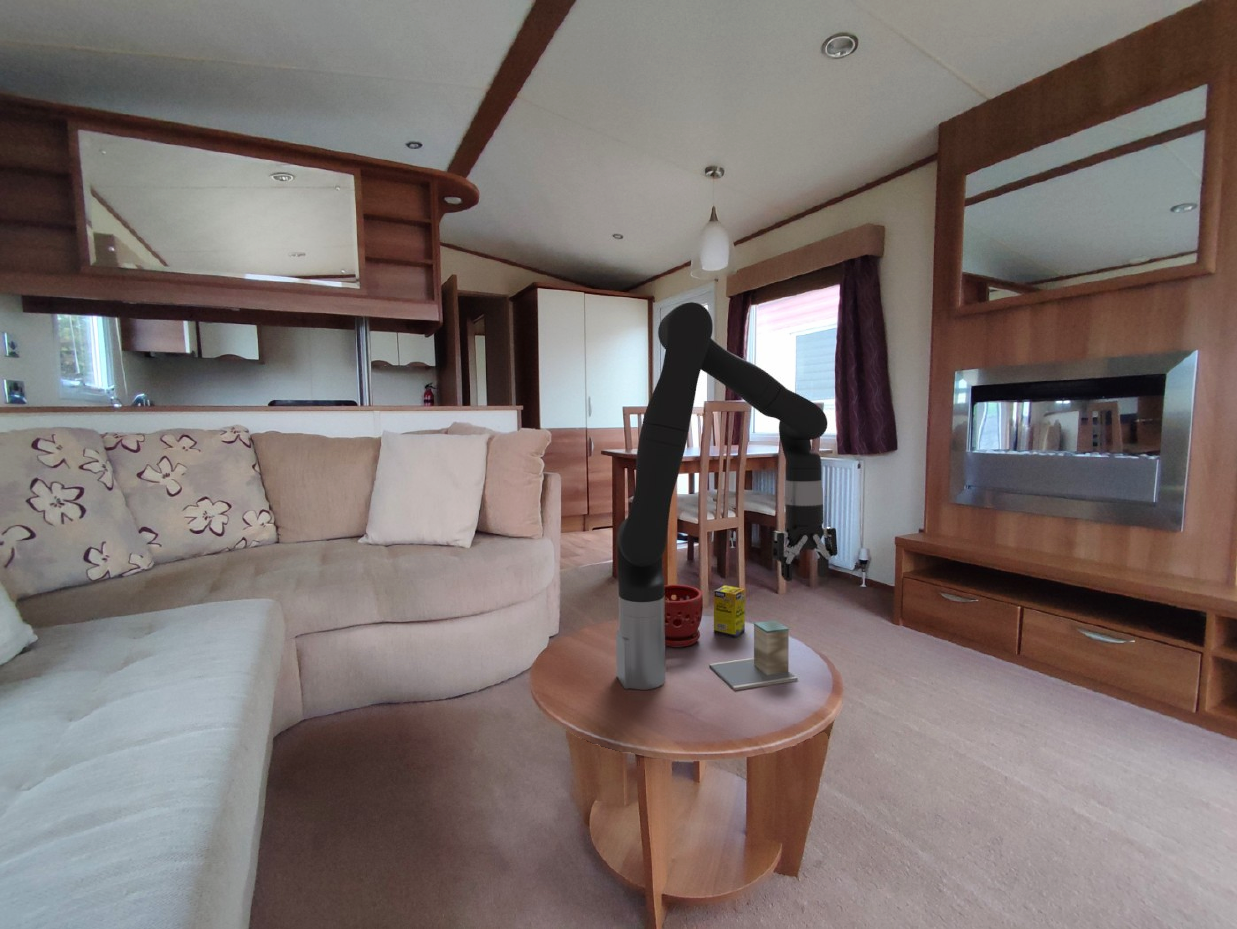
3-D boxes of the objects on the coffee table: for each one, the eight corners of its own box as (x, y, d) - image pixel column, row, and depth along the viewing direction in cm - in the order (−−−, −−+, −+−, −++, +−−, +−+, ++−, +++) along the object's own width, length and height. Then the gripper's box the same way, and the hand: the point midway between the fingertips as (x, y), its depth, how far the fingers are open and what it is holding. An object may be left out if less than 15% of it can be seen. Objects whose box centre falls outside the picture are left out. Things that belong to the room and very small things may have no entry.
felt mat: (734, 690, 99) (734, 687, 99) (709, 666, 109) (709, 664, 109) (797, 680, 103) (797, 677, 103) (767, 658, 113) (767, 655, 113)
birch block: (767, 674, 104) (767, 631, 104) (753, 664, 109) (754, 622, 109) (788, 671, 105) (788, 628, 105) (774, 661, 110) (774, 620, 110)
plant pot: (646, 630, 131) (646, 584, 130) (698, 630, 130) (698, 583, 130) (649, 651, 117) (649, 600, 117) (707, 651, 117) (706, 599, 117)
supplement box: (735, 638, 125) (735, 594, 124) (713, 633, 128) (713, 590, 128) (745, 631, 130) (745, 588, 129) (723, 626, 133) (723, 584, 133)
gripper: (784, 506, 102) (786, 586, 103) (845, 501, 106) (846, 579, 107) (764, 502, 109) (765, 577, 110) (821, 497, 113) (822, 570, 114)
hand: (805, 578), depth 108 cm, fingers open, 8 cm apart
